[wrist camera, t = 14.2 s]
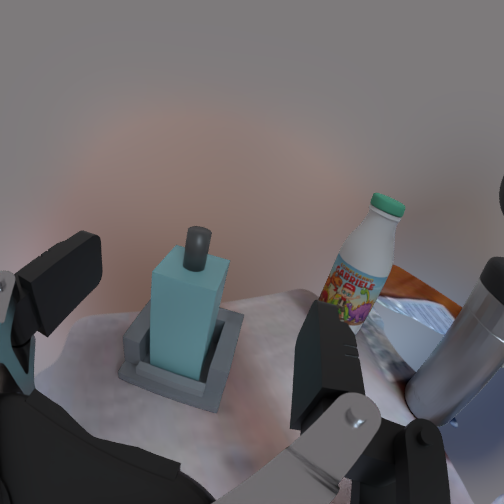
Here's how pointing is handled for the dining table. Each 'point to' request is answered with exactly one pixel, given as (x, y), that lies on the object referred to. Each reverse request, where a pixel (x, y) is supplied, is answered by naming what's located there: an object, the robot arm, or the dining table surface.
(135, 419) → the dining table surface
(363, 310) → the milk bottle
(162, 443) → the dining table surface
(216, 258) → the plug
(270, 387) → the dining table surface
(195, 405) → the socket
